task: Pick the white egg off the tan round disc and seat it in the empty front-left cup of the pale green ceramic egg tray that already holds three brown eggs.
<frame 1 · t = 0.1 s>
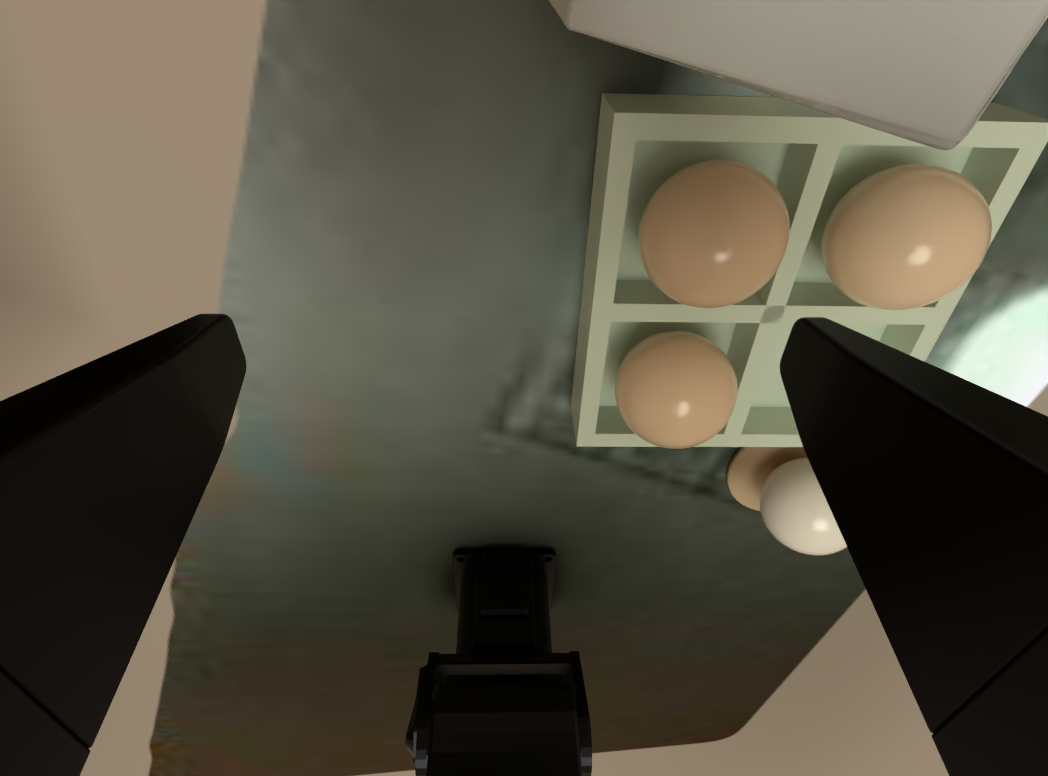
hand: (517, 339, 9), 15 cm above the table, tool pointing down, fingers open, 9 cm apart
white egg: (792, 470, 32), resting on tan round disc
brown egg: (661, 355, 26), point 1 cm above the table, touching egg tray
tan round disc: (789, 465, 32), on the table
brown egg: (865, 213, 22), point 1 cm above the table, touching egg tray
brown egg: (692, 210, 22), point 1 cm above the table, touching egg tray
egg tray: (747, 279, 25), on the table
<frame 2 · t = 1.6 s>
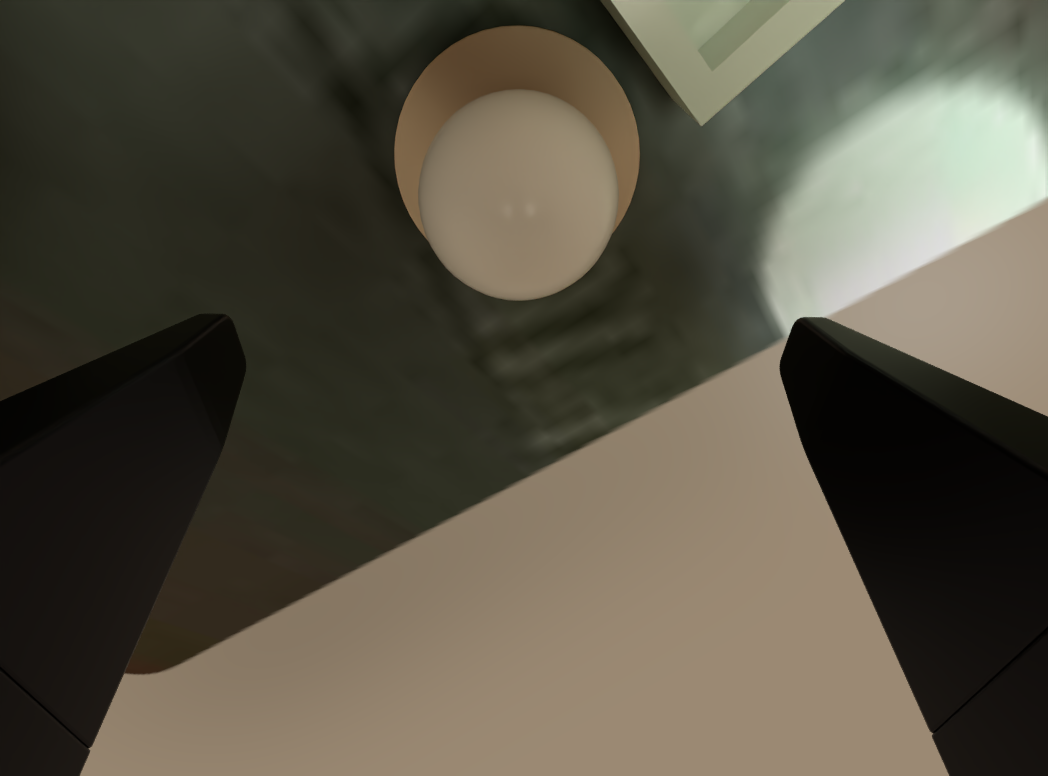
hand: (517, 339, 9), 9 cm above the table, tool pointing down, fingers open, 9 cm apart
white egg: (517, 170, 16), resting on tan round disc
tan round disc: (517, 165, 17), on the table
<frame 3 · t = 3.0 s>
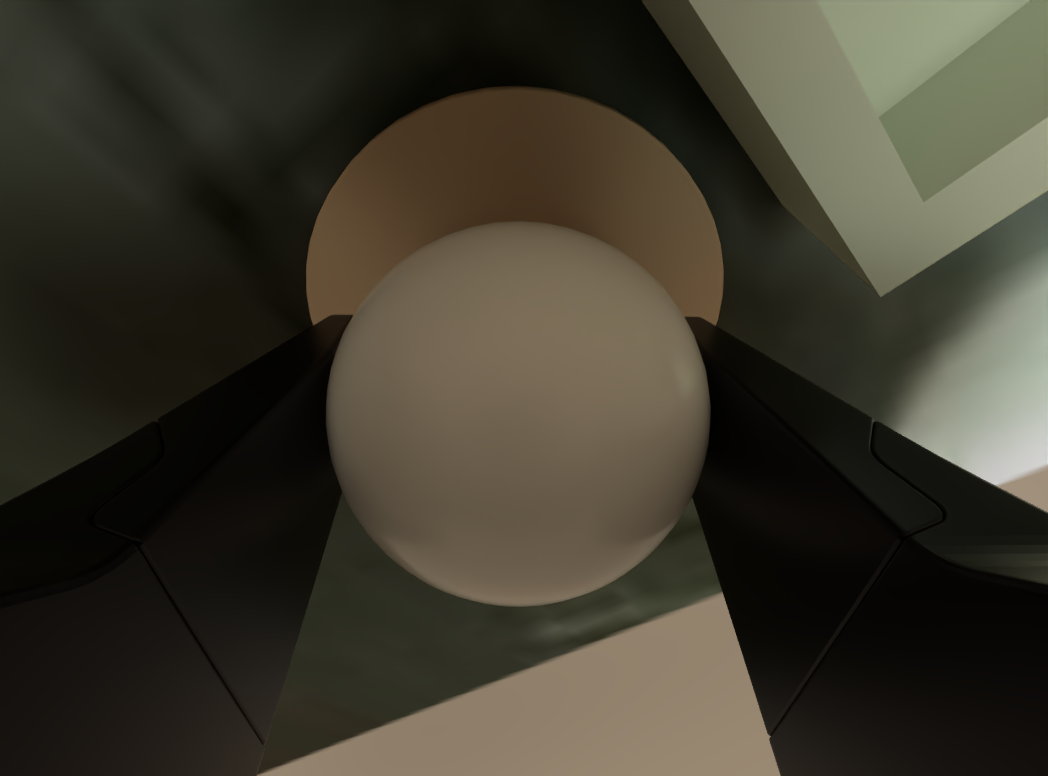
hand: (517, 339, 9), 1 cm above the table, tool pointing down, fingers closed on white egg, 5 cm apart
white egg: (516, 317, 10), resting on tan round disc, touching gripper
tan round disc: (516, 305, 10), on the table
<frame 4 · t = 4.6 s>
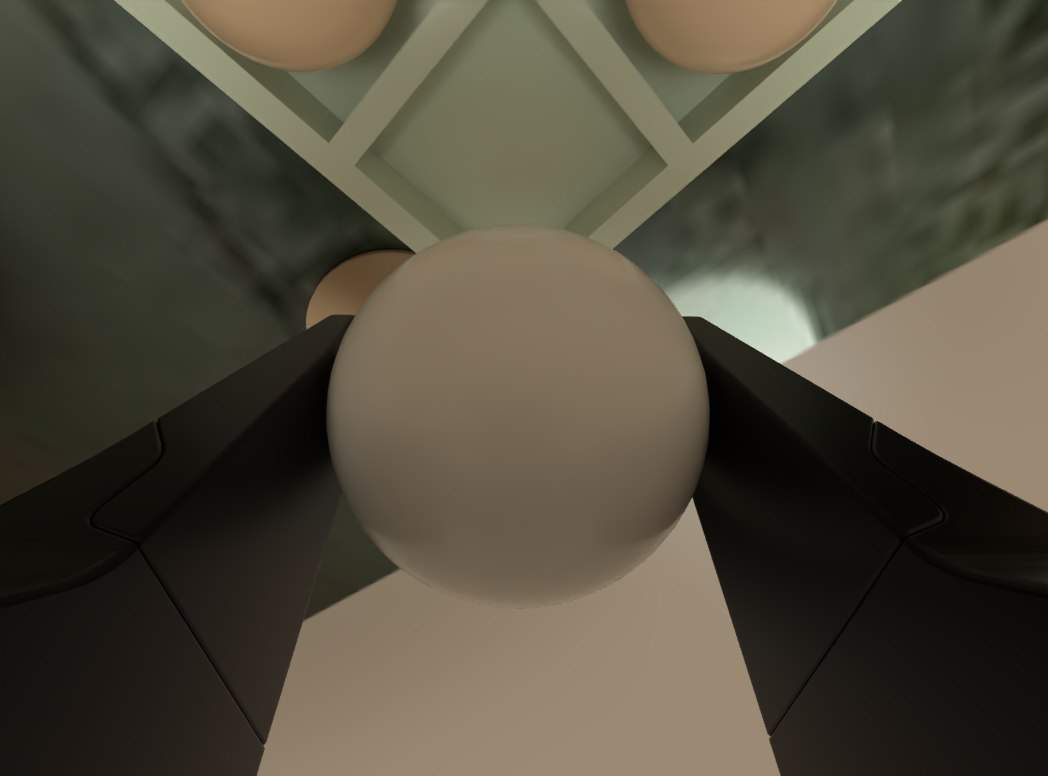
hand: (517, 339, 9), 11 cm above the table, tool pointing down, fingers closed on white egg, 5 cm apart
white egg: (516, 319, 10), point 10 cm above the table, touching gripper
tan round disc: (402, 334, 22), on the table
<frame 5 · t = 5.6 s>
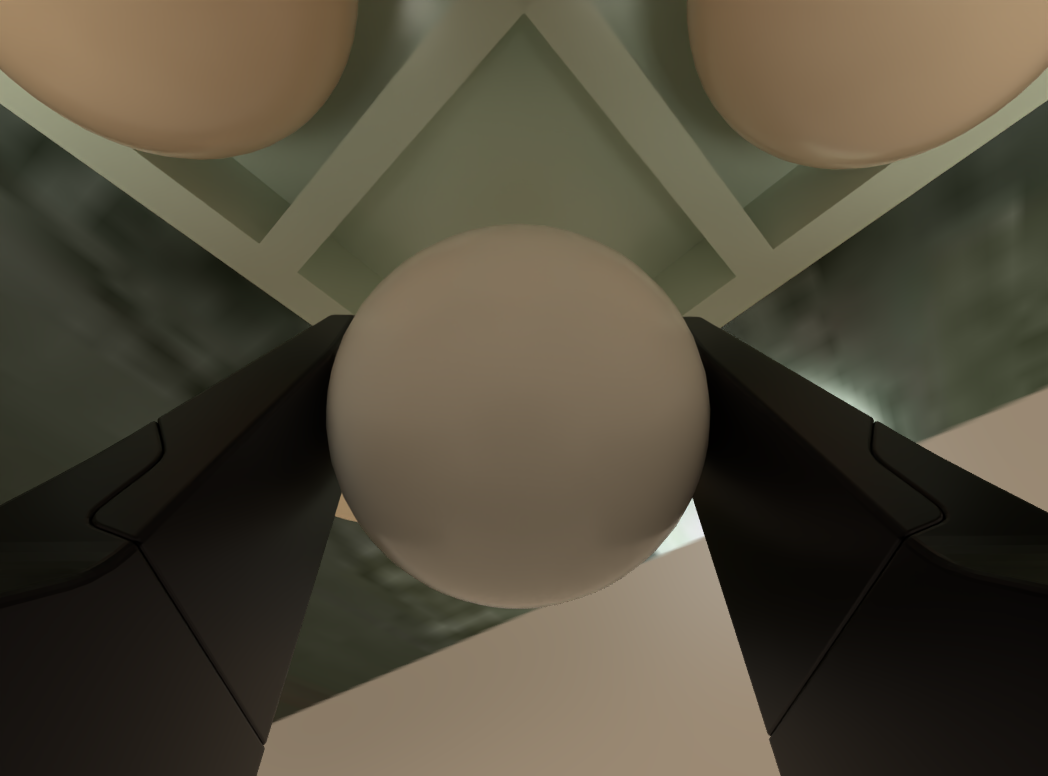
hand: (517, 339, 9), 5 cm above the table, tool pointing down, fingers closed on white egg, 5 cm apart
white egg: (516, 319, 10), point 5 cm above the table, touching gripper
when the fingers open (4 cm above the table, at t = 6.2 s): white egg drops 2 cm, resting on egg tray.
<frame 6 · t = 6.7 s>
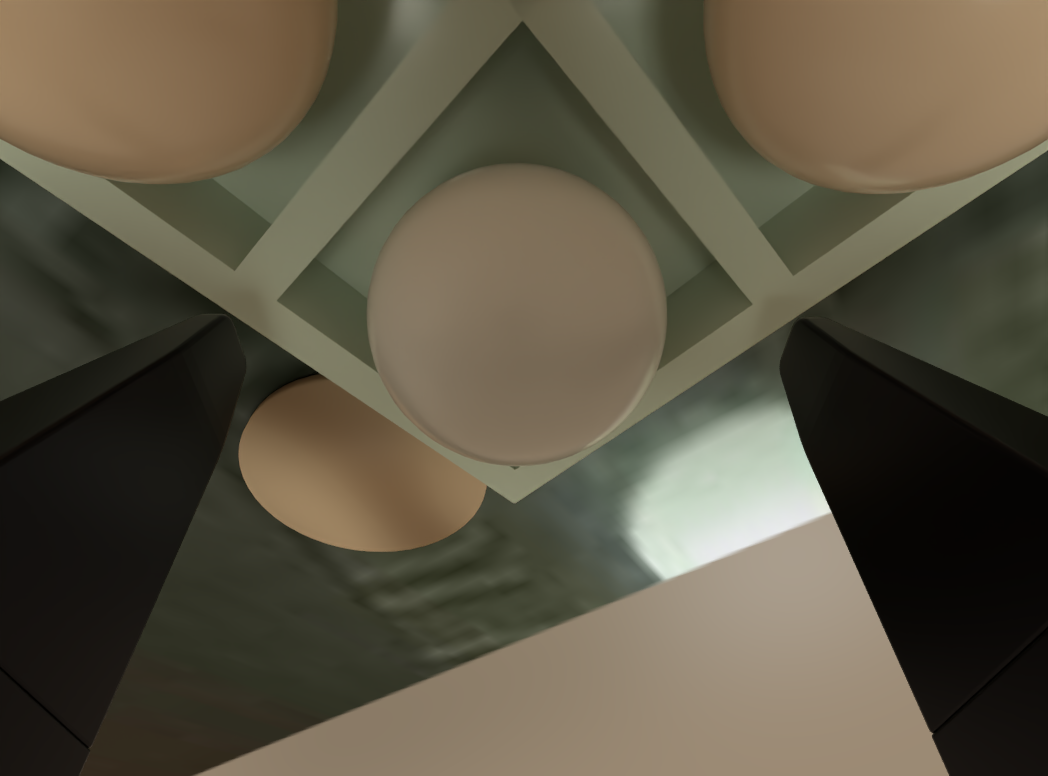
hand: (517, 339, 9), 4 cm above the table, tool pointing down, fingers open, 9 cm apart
white egg: (515, 256, 12), point 1 cm above the table, touching egg tray
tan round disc: (368, 467, 17), on the table
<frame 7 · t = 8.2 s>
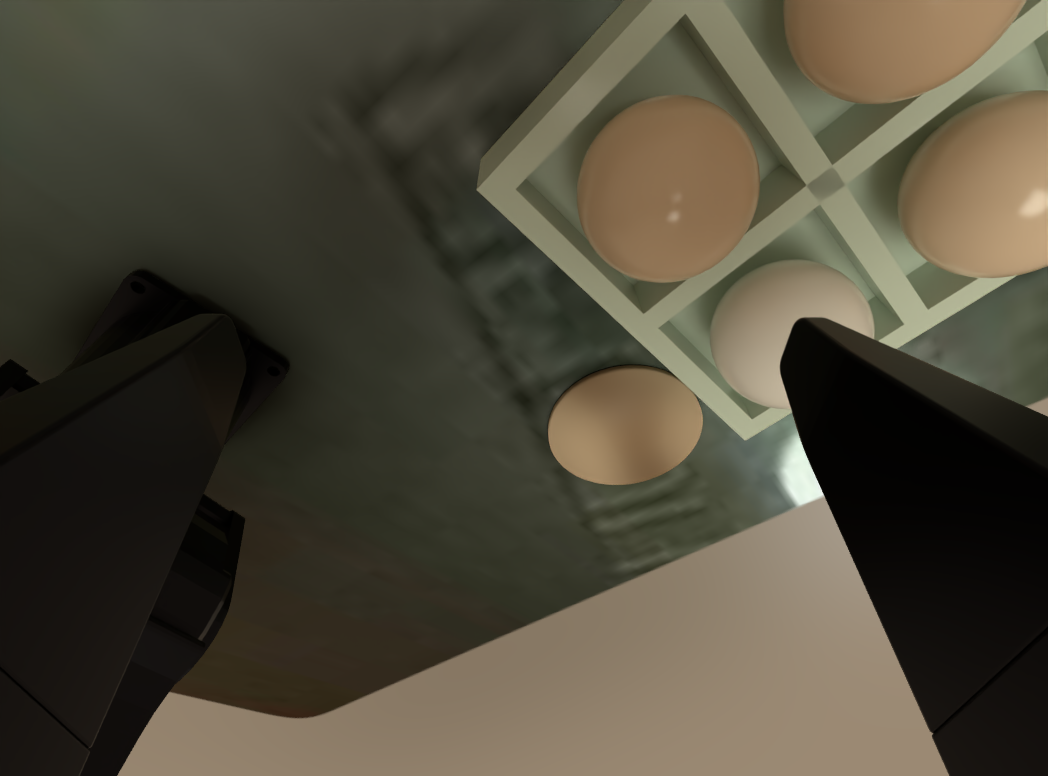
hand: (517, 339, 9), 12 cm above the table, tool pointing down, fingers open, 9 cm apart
white egg: (760, 298, 21), point 1 cm above the table, touching egg tray
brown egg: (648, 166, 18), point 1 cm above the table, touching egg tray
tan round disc: (623, 426, 26), on the table
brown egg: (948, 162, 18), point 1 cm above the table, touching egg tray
egg tray: (787, 155, 19), on the table
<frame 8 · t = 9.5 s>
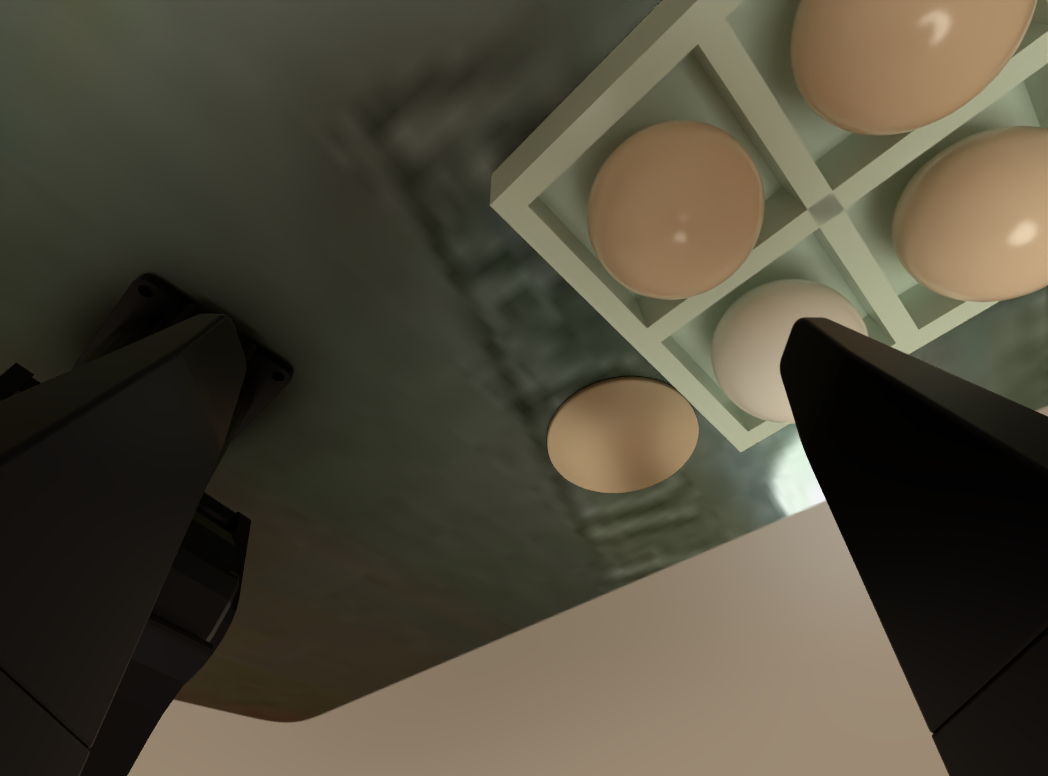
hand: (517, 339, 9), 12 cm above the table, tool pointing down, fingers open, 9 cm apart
white egg: (758, 315, 22), point 1 cm above the table, touching egg tray
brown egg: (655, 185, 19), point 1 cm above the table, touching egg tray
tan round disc: (621, 436, 27), on the table
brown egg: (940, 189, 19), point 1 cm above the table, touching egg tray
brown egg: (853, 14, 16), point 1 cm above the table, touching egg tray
egg tray: (787, 178, 20), on the table
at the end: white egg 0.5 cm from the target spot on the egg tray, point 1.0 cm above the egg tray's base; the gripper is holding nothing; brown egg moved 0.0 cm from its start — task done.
